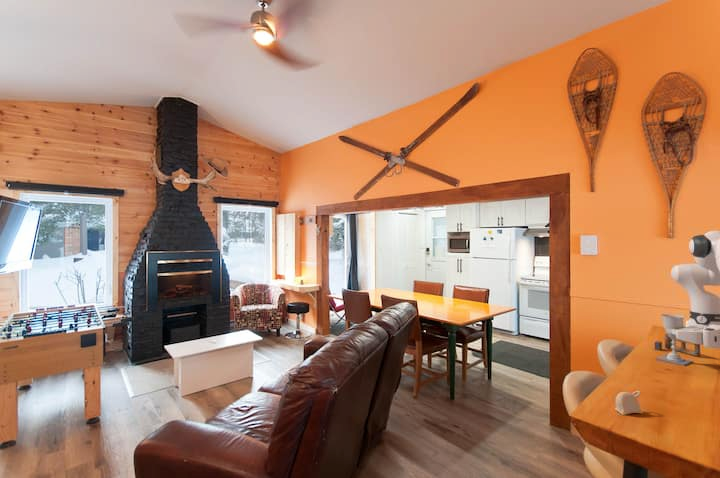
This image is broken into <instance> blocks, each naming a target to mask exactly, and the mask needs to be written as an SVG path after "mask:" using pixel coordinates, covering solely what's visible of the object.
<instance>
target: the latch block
mask: <svg viewBox="0 0 720 478" xmlns="http://www.w3.org/2000/svg"><path fill="white" fill-rule="evenodd" d="M654 350H655V351H662V350H663V342H662V341H658V340H656V341H654Z"/></svg>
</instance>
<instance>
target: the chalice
mask: <svg viewBox="0 0 720 478" xmlns="http://www.w3.org/2000/svg"><path fill="white" fill-rule="evenodd" d="M661 316H662V319H663V320H662V323H663V324H662V326H663V328H664V330H665V332H666V329H667V328H672V329H676V330H679V329H682V328H683V327H684V319H685V316H683V315H680V314H679V315H678V314H671V313H669V314H668V313H665V314H664V313H663V314H661ZM666 334H668V336H669V337H671V338H672V342H671V343H672V347H671V348H672V349H671V348H670V349H671V350H672V351H671V352H669V353H667V354H666V355H667V357H666V358H667V359H669V360H673V361H683V360H682V359H683V358H682V357H681V355H680V354H679V353H678V352H677V350H676V346H677V345H676V344H677V342H676V340H675V339H676V335H675V334H672V333H667V332H666ZM681 358H682V359H681Z"/></svg>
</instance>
